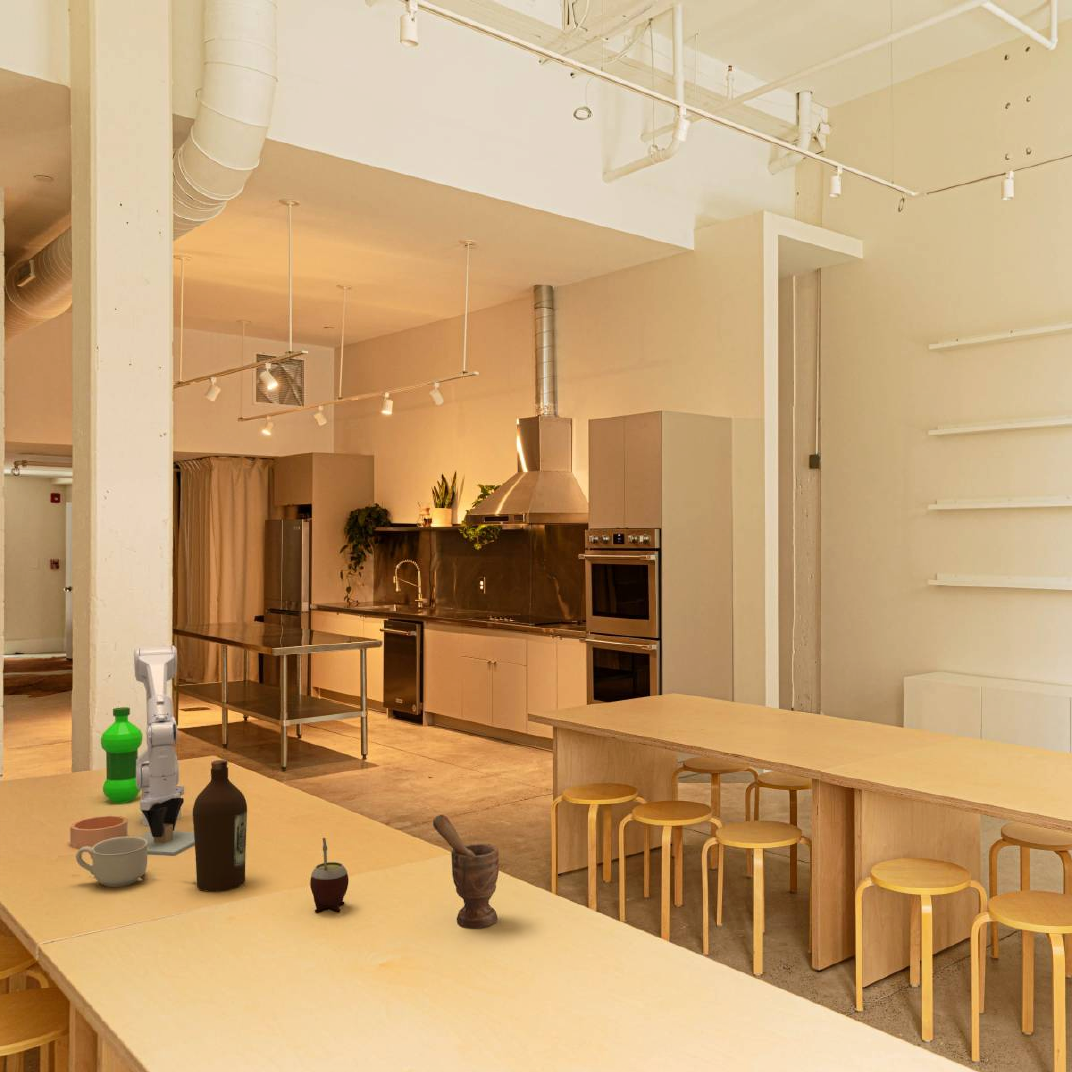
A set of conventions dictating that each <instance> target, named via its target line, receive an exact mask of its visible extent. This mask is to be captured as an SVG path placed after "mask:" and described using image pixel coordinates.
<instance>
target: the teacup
mask: <svg viewBox="0 0 1072 1072" xmlns="http://www.w3.org/2000/svg"><path fill="white" fill-rule="evenodd" d="M147 845H148V841H147V840H146V839H144V838H141V837H140V836H130V835H128V836H125V837H116V838H111V839H107V840H104V841H101V842H99V843H97V844H95V845H94V846H93V847H89V846H85V847H82V848H80V849H79V848H78V849H79V850H77V852H76V855H75V859H76V862H77V864H78V865H79V867H81V868H82V869H85V870H87V871H89V872H90V874H91V875H93V877H94V879H95V880H96V881H97V882H99V883H101V884H102V885H103V886H105V887H109V888H120V887H125V886H130V885H132V884H134V883H136V882H137V881H138V880H139V879H140V878H142V876H143V875H144V874H145V873H146V871H147V868H148V867H147V866H148V854H147ZM83 853H88V854H89V855H90V858H91V860H92V865H91V864H89V863H87V862H86V861H85V860H84V859H83V857H82V854H83Z"/></svg>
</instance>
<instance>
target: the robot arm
mask: <svg viewBox="0 0 1072 1072" xmlns="http://www.w3.org/2000/svg"><path fill="white" fill-rule="evenodd" d="M133 659H134V660H133V661H134V662H133V667H134V677H135V680H136V681H137V682H140V683H142V684H143V686H144V688H145V692H146V695H145V696H146V700H145V701H146V728H145V729H146V731H145V734H146V746H147V748H146V750H145V751H143V752H142V753H141V754H139V755H138V758H137V760H136V787H137V788H138V789H141V790H140V791H141V800H140V801H139V810H140V811H141V814H142V815H141V816H142V817H141V818H142V820H141V821H142V826H147V827H149V830H150V832H151V833H152V837H162V834H163V823H164V824H173V831H175V828H176V824H177V819H180V818H182V806H183V804H184V802H185V799H184V798H183V797H181V796H184V795H185V786H184V785H178V784H179V782H180V780H179V779H180V778H179V777H180V771H179V770H180V769H179V762H178V761H179V760H178V756H177V754H176V746H177V743H178V726H177V725H178V724H177V721H176V718H175V716H174V707H173V700H172V698H170V697H169V696H168V695H167V691H168V690H167V685H168V684H167V683H168V682H169V681H171V680H172V679H175V675H176V672H177V668H178V652H177V647H176V646H175V645H171V646H155V647H154V646H152V647H136V648H135V649H134V650H133Z"/></svg>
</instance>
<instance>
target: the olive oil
mask: <svg viewBox="0 0 1072 1072" xmlns="http://www.w3.org/2000/svg"><path fill="white" fill-rule="evenodd" d="M210 766H211V768H210V781H209V783H207V785H206V786H205V787H204V788H203V789H202V791H201V792H200V793H199V794H198V795H197V797H196V798H195V800H194V803H193V807H192V821H193V822H192V823H193V832H194V840H195V846H194V852H195V853H194V854H195V871H196V872H195V873H196V875H195V877H196V887H197V888H198V890H201V891H205V892H212V893H215V892H224V891H225V892H226V891H231V890H234V889H237V888H240V887H242V885H244V883H245V882H246V856H247V855H246V854H247V853H246V847H247V824H248V823H247V821H248V804H247V800H246V798H245V795H244V794H243V792H242V791H241V790H240V789H239V788H238V787H237V786H236V785H234V784H233V782H231V780H229V767H228V760H226V759H218V760H212V761H211V763H210Z"/></svg>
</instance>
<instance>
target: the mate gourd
mask: <svg viewBox="0 0 1072 1072" xmlns="http://www.w3.org/2000/svg"><path fill="white" fill-rule="evenodd" d="M322 844H323V845H322V852H323V863H319V864H317V865H316V866H315V867H314V869H312V872H311V875H310V878H309V879H310V881H309V884H310V885H309V886H310V890H311V894H312V895H313V900H314V905H315V908H316V909H315V910H314V912H315V914H319V913H323V912H326V911H332V912H333V913H336V914H339V913H341V911H342V909H340V907H343V906H345V901H344V897H345V895H346V894H347V891H348V888H349V874H348V870H347V869H346V867H345V866H344V864H342V863H341V862H335V861H331V862H330V861H329V862H328V853H327V852H328V845H327V839H326V837H322Z"/></svg>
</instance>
